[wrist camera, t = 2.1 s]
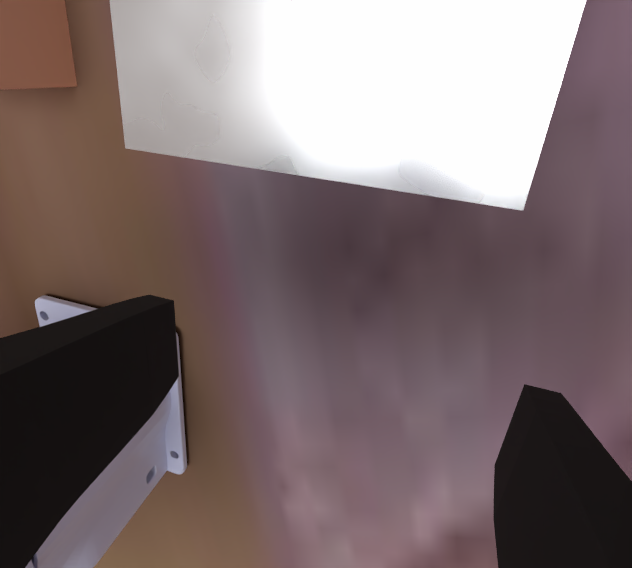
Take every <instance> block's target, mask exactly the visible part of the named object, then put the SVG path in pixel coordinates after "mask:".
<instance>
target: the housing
mask: <svg viewBox="0 0 632 568" xmlns="http://www.w3.org/2000/svg"><path fill="white" fill-rule="evenodd" d="M585 2H586V0H110V9H111V18H112V27H113V37H114V46H115V55H116V65H117V74H118V84H119V93H120V102H121V112H122V121H123V131H124V140H125V148H127V149H133V150H140V151H146V152H152V153H159V154H165V155H172V156H178V157H184V158H191V159H197V160H203V161H210V162H216V163H223V164H229V165H235V166H242V167H248V168H255V169H261V170H267V171H274V172H280V173H286V174H293V175H299V176H306V177H312V178H318V179H325V180H331V181H338V182H344V183H350V184H357V185H363V186H369V187H376V188H382V189H389V190H395V191H401V192H408V193H414V194H421V195H427V196H433V197H440V198H446V199H452V200H459V201H465V202H472V203H478V204H484V205H491V206H497V207H504V208H510V209H516V210H523V209H524V206H525V202H526V199H527V196H528V192H529V189H530V186H531V182H532V179H533V176H534V172H535V169H536V166H537V162H538V159H539V156H540V152H541V149H542V146H543V142H544V139H545V136H546V132H547V129H548V126H549V122H550V119H551V116H552V112H553V109H554V106H555V102H556V99H557V96H558V92H559V89H560V86H561V82H562V79H563V76H564V72H565V69H566V66H567V62H568V59H569V56H570V52H571V49H572V46H573V42H574V39H575V36H576V32H577V29H578V26H579V22H580V19H581V16H582V12H583V9H584V6H585Z"/></svg>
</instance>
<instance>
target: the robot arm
mask: <svg viewBox="0 0 632 568" xmlns="http://www.w3.org/2000/svg"><path fill="white" fill-rule="evenodd" d="M35 307H36V312H37V316H38V320H39V325H40V327H38V328H35V329H31V330H28V331H24V332H21V333H17V334H14V335H10V336H7V337H3V338H0V568H93V567H94V566H95V565H96V564H97V563H98V561H99V560H100V559H101V558H102V556H103V555H104V554H105V552H106V551H107V550H108V548H109V547H110V546H111V544H112V543H113V542H114V540H115V539H116V538H117V536H118V535H119V534H120V532H121V531H122V530H123V528H124V527H125V526H126V524H127V523H128V522H129V520H130V519H131V518H132V516H133V515H134V514H135V512H136V511H137V510H138V508H139V507H140V506H141V504H142V503H143V502H144V500H145V499H146V498H147V496H148V495H149V494H150V492H151V491H152V490H153V488H154V487H155V486H156V484H157V483H158V482H159V480H160V479H161V478H162V476H163V475H164V474H165V472H166V471H170V472H173V473H176V474H182V473H183V472H184V471H185V470H186V468H187V457H186V442H185V428H184V413H183V398H182V383H181V368H180V353H179V338H178V334H177V333H176V326H175V311H174V301H173V300H169V299H165V298H161V297H156V296H152V295H146V296H142V297H137V298H133V299H129V300H126V301H122V302H119V303H115V304H112V305H109V306H105V307H102V308H99V309H97V308H93V307H89V306H85V305H81V304H77V303H73V302H69V301H66V300H62V299H58V298H54V297H50V296H45V295H43V296H41V297H39V298H37V299H36V300H35ZM494 527H495V537H496V548H497V558H498V568H632V481H631V480H630V479H629V478H628V476H627V475H626V474H625V473H624V472H623V470H622V469H621V468H620V467H619V465H618V464H617V463H616V462H615V460H614V459H613V458H612V457H611V456H610V454H609V453H608V452H607V451H606V449H605V448H604V447H603V445H602V444H601V443H600V442H599V440H598V439H597V438H596V437H595V435H594V434H593V433H592V431H591V430H590V429H589V428H588V426H587V425H586V424H585V423H584V421H583V420H582V419H581V417H580V416H579V415H578V414H577V412H576V411H575V410H574V409H573V407H572V406H571V405H570V404H569V402H568V401H567V400H566V399H565V397H564V396H563V395H562V394H561V393H558V392H554V391H550V390H546V389H541V388H537V387H533V386H529V385H525V384H524V387H523V390H522V392H521V395H520V398H519V401H518V403H517V406H516V409H515V411H514V414H513V417H512V420H511V422H510V425H509V428H508V430H507V433H506V436H505V439H504V441H503V444H502V447H501V449H500V452H499V455H498V458H497V460H496V463H495V475H494Z"/></svg>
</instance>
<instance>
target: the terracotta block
mask: <svg viewBox="0 0 632 568" xmlns="http://www.w3.org/2000/svg"><path fill="white" fill-rule="evenodd" d="M55 87H77V81H76V74H75V68H74V61H73V54H72V47H71V40H70V33H69V26H68V19H67V12H66V5H65V0H0V90H12V89H34V88H55Z"/></svg>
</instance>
